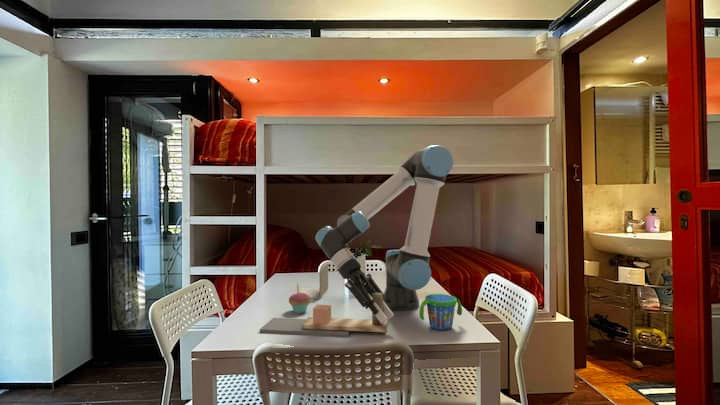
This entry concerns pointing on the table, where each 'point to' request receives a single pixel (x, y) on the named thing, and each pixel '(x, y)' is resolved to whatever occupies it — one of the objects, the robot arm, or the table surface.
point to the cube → (321, 314)
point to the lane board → (298, 328)
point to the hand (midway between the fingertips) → (387, 319)
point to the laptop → (319, 292)
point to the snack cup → (440, 310)
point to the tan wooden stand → (353, 321)
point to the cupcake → (299, 301)
